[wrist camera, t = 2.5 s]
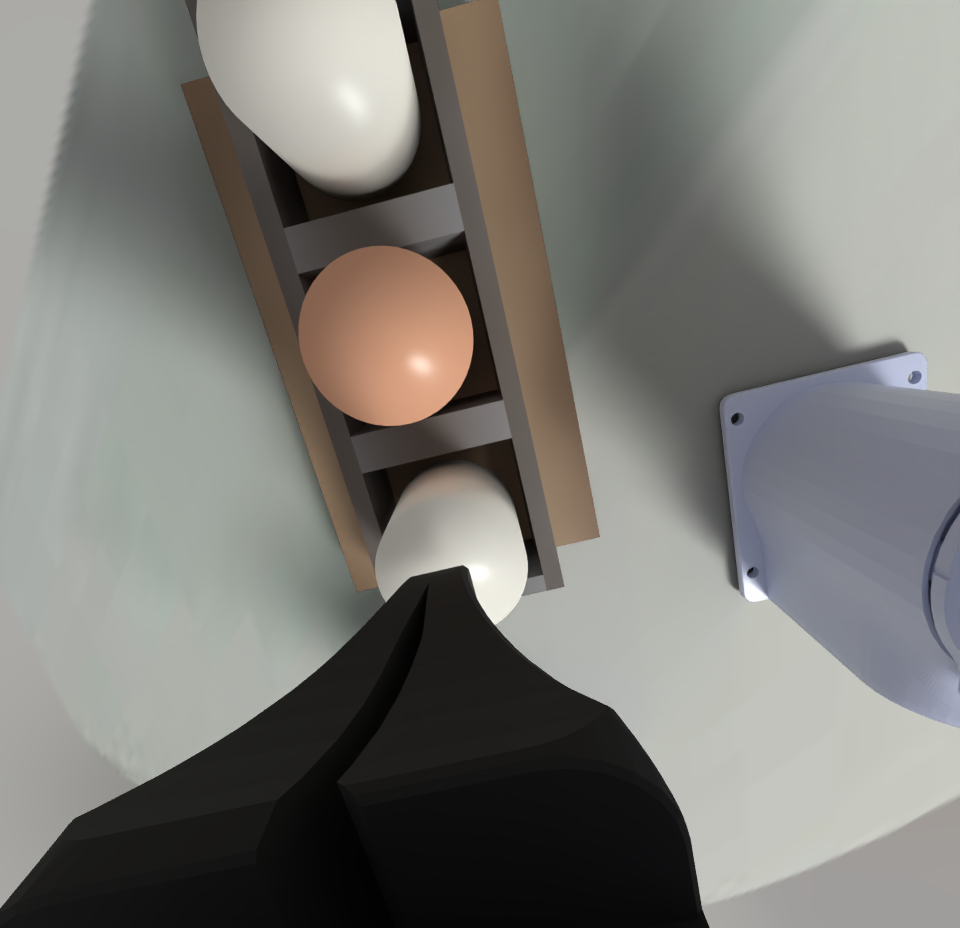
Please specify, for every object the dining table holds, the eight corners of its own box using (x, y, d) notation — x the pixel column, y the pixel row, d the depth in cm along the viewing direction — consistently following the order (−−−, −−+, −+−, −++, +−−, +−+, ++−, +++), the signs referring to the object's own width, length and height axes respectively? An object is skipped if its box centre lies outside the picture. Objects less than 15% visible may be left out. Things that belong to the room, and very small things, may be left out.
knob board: (494, 35, 16) (503, -93, 11) (587, 518, 21) (623, 573, 16) (214, 113, 17) (108, 22, 12) (367, 568, 21) (336, 637, 16)
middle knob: (486, 387, 15) (490, 403, 11) (364, 417, 15) (330, 442, 12) (455, 254, 14) (448, 225, 10) (324, 287, 14) (273, 271, 10)
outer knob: (437, 179, 13) (424, 121, 10) (302, 216, 14) (240, 172, 10) (397, 13, 12) (367, -122, 9) (253, 54, 13) (162, -61, 9)
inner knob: (526, 556, 17) (541, 619, 13) (415, 581, 17) (399, 650, 13) (500, 447, 16) (509, 482, 12) (382, 475, 16) (355, 517, 12)
